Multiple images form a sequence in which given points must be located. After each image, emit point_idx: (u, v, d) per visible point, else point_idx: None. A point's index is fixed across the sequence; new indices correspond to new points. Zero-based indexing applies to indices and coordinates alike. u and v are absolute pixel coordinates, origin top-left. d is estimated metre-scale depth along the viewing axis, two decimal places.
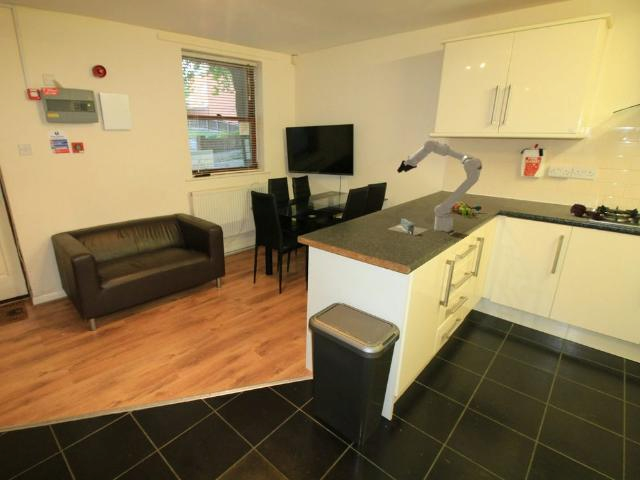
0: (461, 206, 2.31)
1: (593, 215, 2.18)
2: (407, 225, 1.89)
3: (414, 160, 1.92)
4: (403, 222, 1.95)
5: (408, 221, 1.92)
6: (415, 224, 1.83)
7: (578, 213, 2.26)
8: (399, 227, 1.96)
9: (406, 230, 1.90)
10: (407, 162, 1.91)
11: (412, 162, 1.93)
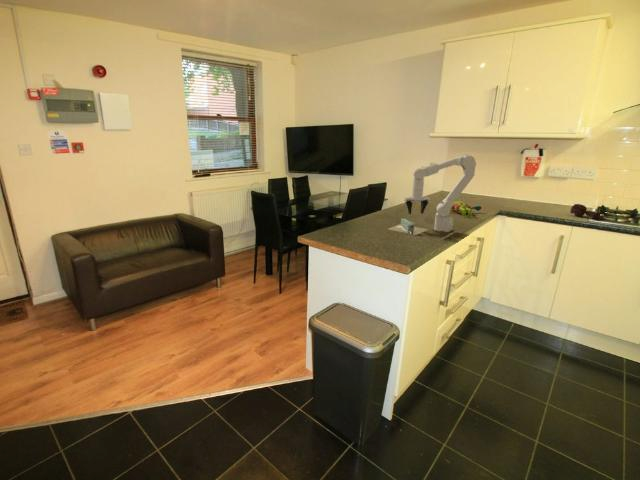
0: (461, 206, 2.31)
1: (594, 215, 2.18)
2: (407, 225, 1.89)
3: (413, 194, 1.89)
4: (403, 222, 1.95)
5: (408, 221, 1.92)
6: (415, 224, 1.83)
7: (578, 213, 2.25)
8: (399, 227, 1.96)
9: (406, 230, 1.90)
10: None
11: (413, 197, 1.90)
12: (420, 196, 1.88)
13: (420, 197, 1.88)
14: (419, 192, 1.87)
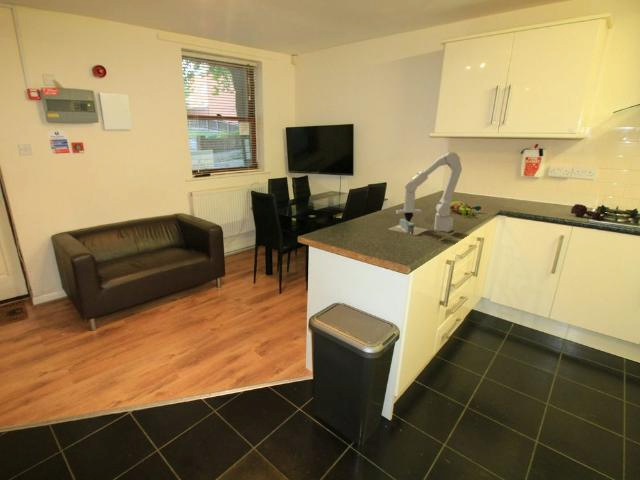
0: (461, 206, 2.31)
1: (595, 215, 2.17)
2: (407, 225, 1.89)
3: (405, 206, 1.91)
4: (402, 222, 1.95)
5: (407, 221, 1.92)
6: (415, 224, 1.83)
7: (579, 213, 2.25)
8: (399, 227, 1.96)
9: (406, 230, 1.90)
10: (398, 210, 1.92)
11: (405, 209, 1.91)
12: (412, 208, 1.90)
13: (412, 209, 1.90)
14: (411, 204, 1.89)
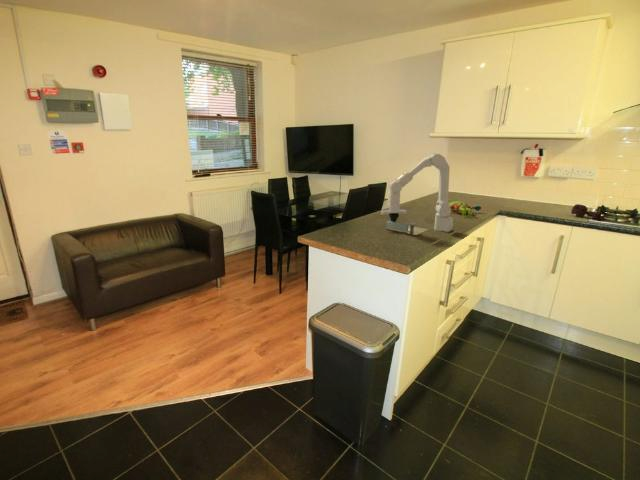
0: (461, 206, 2.31)
1: (595, 215, 2.17)
2: (404, 226, 1.86)
3: (390, 207, 1.90)
4: (393, 225, 1.90)
5: None
6: None
7: (580, 214, 2.24)
8: None
9: None
10: (383, 211, 1.91)
11: (390, 209, 1.90)
12: (397, 209, 1.89)
13: (397, 210, 1.89)
14: (395, 205, 1.88)
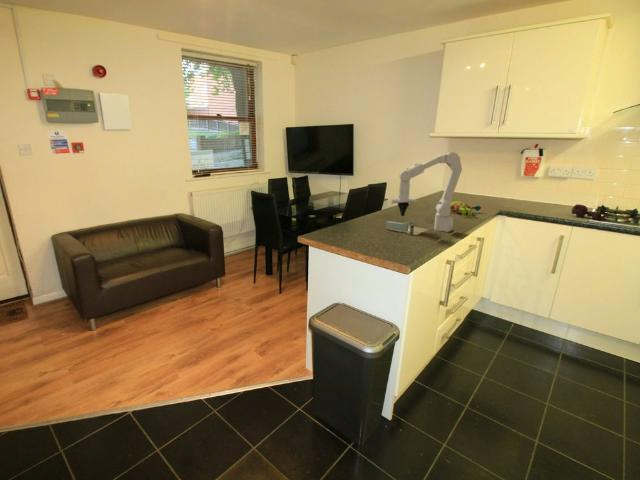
0: (461, 206, 2.31)
1: (596, 216, 2.17)
2: (404, 226, 1.86)
3: (399, 196, 1.89)
4: (393, 225, 1.90)
5: None
6: None
7: (580, 214, 2.24)
8: None
9: None
10: (392, 200, 1.90)
11: (399, 199, 1.90)
12: (406, 198, 1.88)
13: (406, 199, 1.88)
14: (405, 194, 1.87)
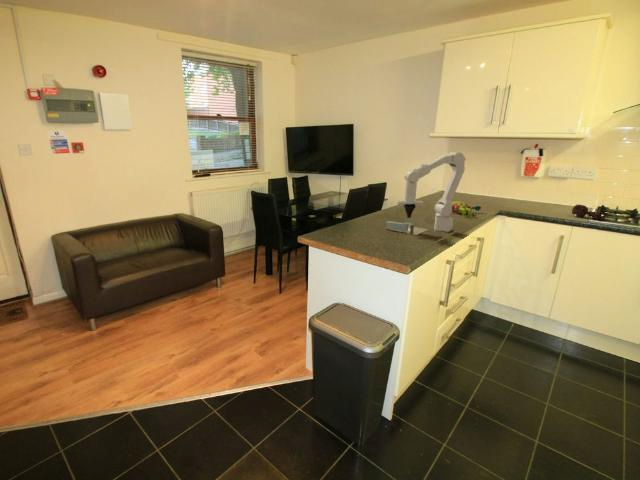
0: (461, 206, 2.31)
1: (597, 216, 2.16)
2: (404, 226, 1.86)
3: (406, 197, 1.84)
4: (393, 225, 1.90)
5: None
6: None
7: (581, 214, 2.23)
8: None
9: None
10: (399, 202, 1.85)
11: (406, 200, 1.85)
12: (413, 200, 1.83)
13: (413, 201, 1.83)
14: (412, 195, 1.82)
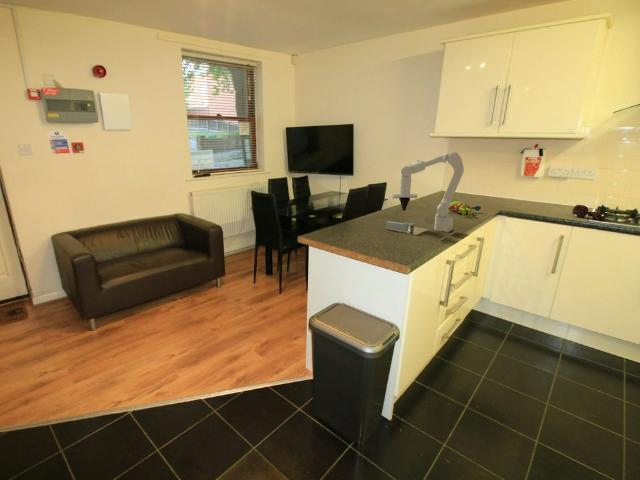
0: (461, 206, 2.31)
1: (597, 216, 2.16)
2: (404, 226, 1.86)
3: (401, 191, 1.93)
4: (393, 225, 1.90)
5: None
6: None
7: (581, 214, 2.23)
8: None
9: None
10: (394, 195, 1.94)
11: (401, 194, 1.93)
12: (408, 193, 1.92)
13: (408, 194, 1.92)
14: (407, 189, 1.91)
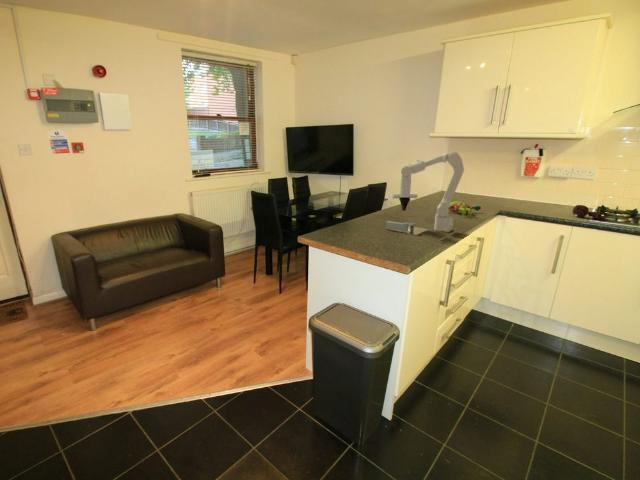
0: (461, 206, 2.31)
1: (598, 216, 2.16)
2: (404, 226, 1.86)
3: (401, 191, 1.93)
4: (393, 225, 1.90)
5: None
6: None
7: (582, 214, 2.22)
8: None
9: None
10: (394, 195, 1.94)
11: (401, 194, 1.93)
12: (408, 193, 1.92)
13: (408, 194, 1.92)
14: (407, 189, 1.91)
